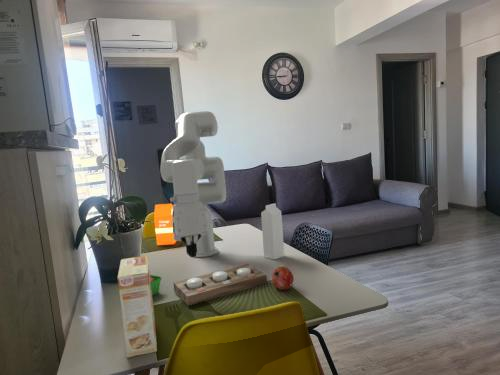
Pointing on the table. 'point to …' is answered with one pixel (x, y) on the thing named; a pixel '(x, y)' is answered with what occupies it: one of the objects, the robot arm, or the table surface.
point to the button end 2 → (243, 271)
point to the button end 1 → (194, 283)
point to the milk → (272, 232)
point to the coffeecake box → (137, 306)
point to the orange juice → (164, 224)
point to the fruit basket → (155, 283)
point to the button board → (219, 284)
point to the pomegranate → (282, 278)
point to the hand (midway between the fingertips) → (192, 255)
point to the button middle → (219, 276)
